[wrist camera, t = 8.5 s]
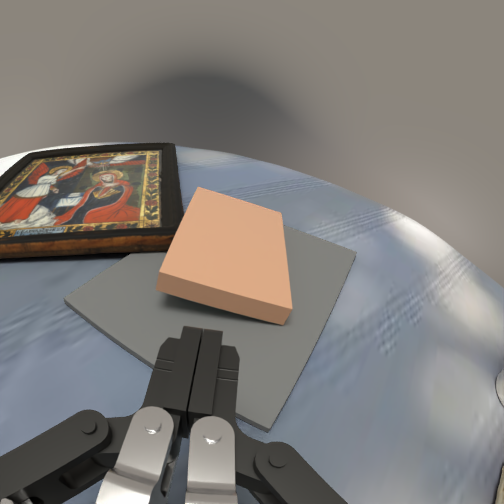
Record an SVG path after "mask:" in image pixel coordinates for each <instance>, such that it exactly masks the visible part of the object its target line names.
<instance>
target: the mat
mask: <svg viewBox="0 0 504 504" xmlns="http://www.w3.org/2000/svg"><path fill="white" fill-rule="evenodd" d="M283 230H284V238H285V246H286V255H287V263H288V272H289V281H290V290H291V299H292V311H291V313H290V314H289V316H288V318H287V320H286V321H285V323H284V325H280V324H276V323H272V322H268V321H264V320H260V319H256V318H252V317H248V316H244V315H241V314H237V313H233V312H229V311H226V310H222V309H218V308H215V307H211V306H208V305H204V304H201V303H197V302H194V301H190V300H187V299H183V298H180V297H177V296H173V295H170V294H167V293H163V292H160V291H157V290H156V285H157V280H158V274H159V271H160V268H161V266H162V264H163V261H164V259H165V257H166V254H167V252H168V251H146V252H132V253H131V254H129V255H128V256H126V257H125V258H123V259H121V260H120V261H118V262H117V263H115V264H114V265H112V266H111V267H109V268H108V269H106V270H105V271H103V272H101V273H100V274H98V275H97V276H95V277H94V278H92V279H91V280H89V281H88V282H87V283H85V284H84V285H82V286H81V287H79V288H78V289H76V290H75V291H73V292H72V293H70V294H69V295H67V296H66V297H65V298H64V302H65V304H66V305H67V306H69V307H70V308H71V309H72V310H73V311H75V312H76V313H77V314H78V315H80V316H81V317H82V318H83V319H85V320H86V321H87V322H88V323H90V324H91V325H92V326H94V327H95V328H96V329H97V330H99V331H100V332H101V333H103V334H104V335H105V336H107V337H108V338H109V339H111V340H112V341H114V342H115V343H116V344H118V345H119V346H120V347H122V348H123V349H125V350H126V351H128V352H129V353H130V354H132V355H133V356H135V357H136V358H138V359H139V360H141V361H142V362H144V363H145V364H147V365H148V366H150V367H151V368H153V369H154V365H155V362H156V360H157V355H158V352H159V348H160V346H161V345H162V344H163V343H164V342H165V340H166V339H167V338H168V337H171V338H178V339H180V337H181V333H182V329H183V327H184V326H190V327H197V328H203V331H204V328H205V329H212V330H219V331H223V338H222V345H227V346H235V347H236V350H237V352H238V354H239V357H240V363H239V375H238V388H237V400H236V412H235V417H237V418H239V419H241V420H243V421H245V422H247V423H249V424H251V425H253V426H255V427H257V428H259V429H261V430H263V431H265V432H267V433H268V432H269V430H270V428H271V427H272V425H273V423H274V422H275V420H276V418H277V416H278V415H279V413H280V411H281V409H282V407H283V406H284V404H285V402H286V400H287V398H288V397H289V395H290V393H291V391H292V389H293V387H294V386H295V384H296V382H297V380H298V378H299V376H300V374H301V372H302V370H303V368H304V366H305V365H306V363H307V361H308V359H309V357H310V355H311V353H312V351H313V349H314V347H315V345H316V343H317V341H318V339H319V336H320V334H321V332H322V330H323V328H324V326H325V324H326V322H327V320H328V318H329V315H330V313H331V311H332V309H333V307H334V305H335V302H336V300H337V298H338V296H339V293H340V291H341V289H342V287H343V284H344V282H345V280H346V277H347V275H348V273H349V270H350V268H351V266H352V263H353V261H354V258H355V256H356V253H357V252H355V251H352V250H350V249H347V248H345V247H342V246H339V245H337V244H334V243H331V242H328V241H326V240H323V239H320V238H318V237H315V236H312V235H309V234H307V233H304V232H301V231H298V230H296V229H293V228H290V227H287V226H285V225H283Z"/></svg>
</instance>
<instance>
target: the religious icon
mask: <svg viewBox="0 0 504 504" xmlns="http://www.w3.org/2000/svg"><path fill="white" fill-rule="evenodd" d="M183 217H184V212H183V206H182V198H181V190H180V183H179V175H178V166H177V157H176V148H175V144H173V143H137V144H115V145H101V146H88V147H74V148H63V149H54V150H46V151H39V152H32V153H29V154H27V155H26V156H24V157H23V158H21V159H20V160H19V161H18V162H16V163H15V164H14V165H13V166H12V167H10V168H9V169H8V170H7V171H6V172H5V173H4V174H3V175H2V176H1V177H0V259H1V258H21V257H40V256H63V255H84V254H97V253H122V252H146V251H168V250H169V248H170V245H171V243H172V241H173V239H174V236H175V234H176V232H177V230H178V228H179V225H180V223H181V221H182V219H183Z"/></svg>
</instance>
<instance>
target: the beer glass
mask: <svg viewBox="0 0 504 504" xmlns="http://www.w3.org/2000/svg"><path fill="white" fill-rule="evenodd" d="M496 390H497V394H498V397H499V399H500V401H501V403H502V405H503V406H504V369H503V370H502V371H501V372H500V373H499V374H498V376H497V379H496Z"/></svg>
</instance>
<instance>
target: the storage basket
mask: <svg viewBox="0 0 504 504" xmlns="http://www.w3.org/2000/svg"><path fill="white" fill-rule="evenodd" d="M495 504H504V466H503V468H502V474H501V479H500V484H499V486H498V490H497V498H496V502H495Z"/></svg>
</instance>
